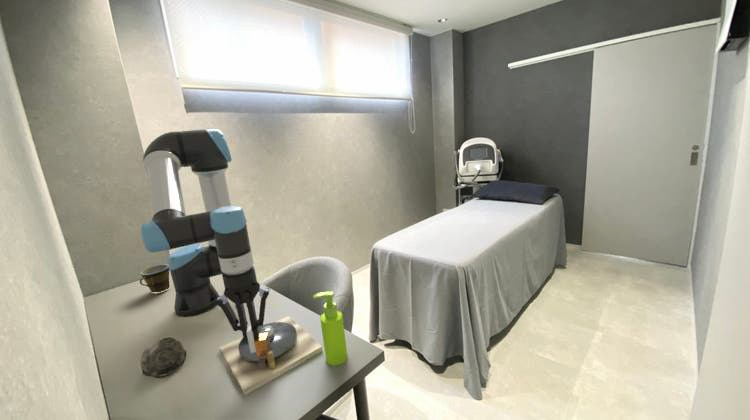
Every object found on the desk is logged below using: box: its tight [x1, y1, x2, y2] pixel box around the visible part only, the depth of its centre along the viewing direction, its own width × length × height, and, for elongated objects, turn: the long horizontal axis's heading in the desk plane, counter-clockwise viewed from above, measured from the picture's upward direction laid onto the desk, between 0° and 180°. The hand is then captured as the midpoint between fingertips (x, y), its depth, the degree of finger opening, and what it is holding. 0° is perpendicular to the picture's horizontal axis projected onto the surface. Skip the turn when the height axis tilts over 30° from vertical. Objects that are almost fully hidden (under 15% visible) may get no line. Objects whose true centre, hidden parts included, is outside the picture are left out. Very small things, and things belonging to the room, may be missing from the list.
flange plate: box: [239, 321, 297, 368], centre depth 90 cm, size 18×16×6 cm
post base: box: [219, 315, 323, 396], centre depth 92 cm, size 22×22×6 cm
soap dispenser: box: [312, 291, 348, 366], centre depth 85 cm, size 6×7×20 cm
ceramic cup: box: [139, 263, 170, 293], centre depth 134 cm, size 13×10×10 cm
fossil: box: [140, 336, 187, 379], centre depth 89 cm, size 11×9×10 cm
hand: (254, 349), depth 85 cm, fingers closed
